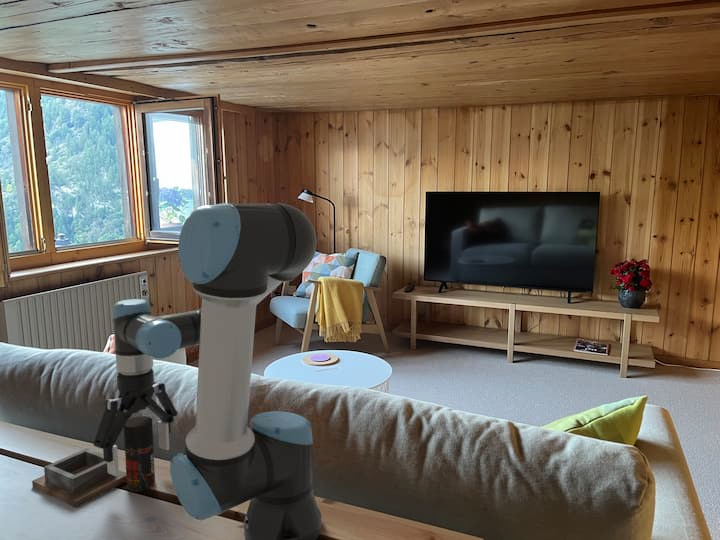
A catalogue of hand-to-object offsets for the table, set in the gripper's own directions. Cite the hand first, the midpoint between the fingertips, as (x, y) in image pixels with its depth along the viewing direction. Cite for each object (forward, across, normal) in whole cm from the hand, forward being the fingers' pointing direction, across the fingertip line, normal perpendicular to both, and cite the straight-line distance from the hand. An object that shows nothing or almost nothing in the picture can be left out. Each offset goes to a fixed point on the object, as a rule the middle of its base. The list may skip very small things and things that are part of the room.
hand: (139, 460), depth 123 cm
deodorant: (+6, 0, 0) cm, 6 cm away
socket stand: (+6, +6, -12) cm, 15 cm away
